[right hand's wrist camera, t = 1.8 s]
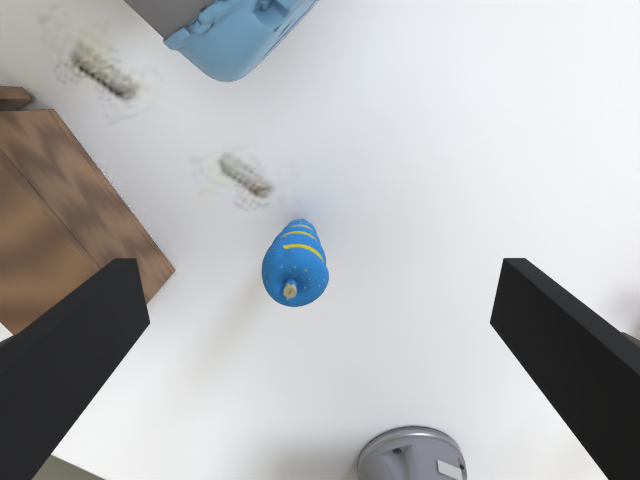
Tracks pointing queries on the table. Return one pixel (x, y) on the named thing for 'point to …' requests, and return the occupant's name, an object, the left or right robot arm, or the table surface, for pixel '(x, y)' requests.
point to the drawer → (12, 98)
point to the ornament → (295, 266)
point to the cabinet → (59, 220)
